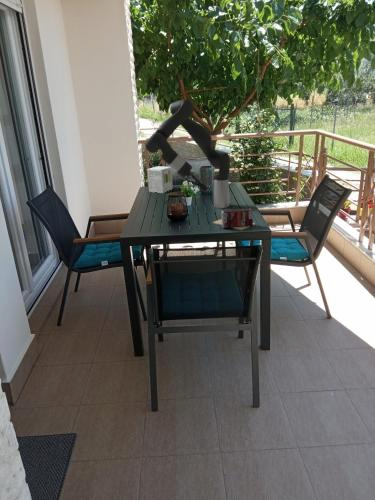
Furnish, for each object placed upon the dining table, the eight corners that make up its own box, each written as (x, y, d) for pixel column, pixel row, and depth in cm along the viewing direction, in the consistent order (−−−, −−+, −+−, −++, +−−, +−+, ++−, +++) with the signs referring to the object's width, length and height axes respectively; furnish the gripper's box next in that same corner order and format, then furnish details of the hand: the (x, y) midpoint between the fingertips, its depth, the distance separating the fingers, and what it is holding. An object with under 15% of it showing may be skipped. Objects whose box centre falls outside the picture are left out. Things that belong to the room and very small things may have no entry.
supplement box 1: (162, 193, 288) (161, 169, 281) (148, 192, 295) (146, 168, 288) (173, 189, 298) (171, 166, 292) (159, 188, 305) (157, 165, 299)
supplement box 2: (222, 212, 199) (253, 210, 200) (221, 210, 204) (251, 207, 204) (223, 228, 202) (253, 226, 203) (221, 225, 207) (251, 223, 208)
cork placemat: (226, 218, 221) (226, 217, 221) (255, 224, 207) (255, 223, 207) (212, 223, 213) (212, 222, 213) (241, 230, 200) (241, 229, 200)
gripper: (185, 162, 184) (212, 186, 188) (185, 158, 197) (210, 181, 201) (174, 174, 186) (201, 198, 190) (176, 169, 199) (200, 192, 203)
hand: (206, 189), depth 195 cm, fingers closed
